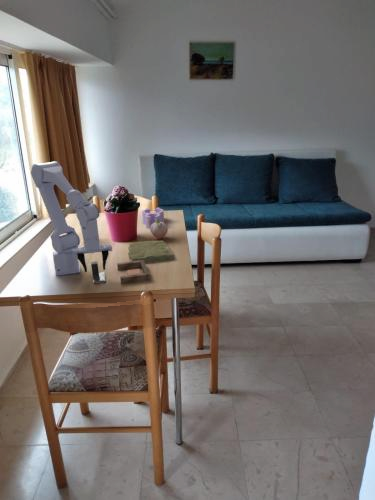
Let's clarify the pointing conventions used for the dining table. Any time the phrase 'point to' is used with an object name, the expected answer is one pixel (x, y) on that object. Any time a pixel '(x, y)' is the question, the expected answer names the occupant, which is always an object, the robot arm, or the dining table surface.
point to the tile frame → (136, 277)
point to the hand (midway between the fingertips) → (95, 270)
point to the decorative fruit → (159, 229)
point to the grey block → (97, 274)
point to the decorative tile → (149, 251)
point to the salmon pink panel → (133, 272)
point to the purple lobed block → (152, 216)
